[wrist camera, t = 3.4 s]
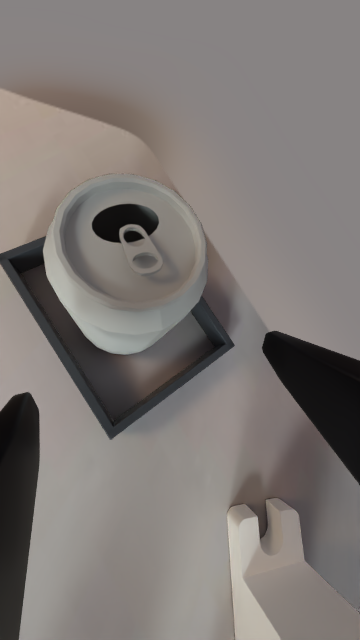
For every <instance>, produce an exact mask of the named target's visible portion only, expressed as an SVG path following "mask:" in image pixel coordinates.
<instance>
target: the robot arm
mask: <svg viewBox="0 0 360 640" xmlns="http://www.w3.org/2000/svg"><path fill="white" fill-rule="evenodd" d="M262 350H263V353H264V355H265V356H266V358H267V359H268V361H269V363H270V364H271V366H272V368H273V369H274V371H275V372H276V374H277V376H278V377H279V379H280V380H281V382H282V383H283V385H284V386H285V387H286V389H287V390H288V391H289V393H290V394H291V395H292V396H293V398H294V399H295V400H296V402H297V403H298V404H299V406H300V407H301V408H302V410H303V411H304V412H305V414H306V415H307V416H308V418H309V419H310V420H311V421H312V423H313V424H314V425H315V427H316V428H317V429H318V431H319V432H320V433H321V435H322V436H323V437H324V439H325V440H326V441H327V443H328V444H329V445H330V446H331V448H332V449H333V450H334V452H335V453H336V454H337V456H338V457H339V458H340V460H341V461H342V462H343V464H344V465H345V466H346V468H347V469H348V470H349V471H350V473H351V474H352V475H353V477H354V478H355V479H356V481H357V482H358V483H359V485H360V361H359V360H356V359H354V358H350V357H348V356H345V355H342V354H339V353H337V352H334V351H331V350H328V349H326V348H323V347H320V346H317V345H314V344H312V343H309V342H306V341H303V340H300V339H298V338H295V337H292V336H289V335H287V334H284V333H281V332H278V331H272V332H268V333H267V334H266V335H265V339H264V343H263V346H262ZM39 457H40V443H39V410H38V407H37V405H36V403H35V401H34V399H33V397H32V395H31V394H30V393H29V392H26V393H22V394H18V395H15V396H13V397H12V398H11V399H10V400H9V402H8V403H7V404H6V405H5V406H4V408H3V409H2V410H1V411H0V640H19V632H20V623H21V615H22V607H23V598H24V590H25V581H26V573H27V564H28V556H29V548H30V539H31V531H32V522H33V514H34V506H35V497H36V489H37V480H38V472H39Z"/></svg>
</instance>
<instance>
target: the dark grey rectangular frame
mask: <svg viewBox="0 0 360 640" xmlns="http://www.w3.org/2000/svg"><path fill="white" fill-rule="evenodd" d="M45 240H46V236H45V237H43V238H40V239H37V240H35V241H32V242H30V243H27V244H25V245H22V246H19V247H17V248H14V249H12V250H9V251H6V252H4V253H1V254H0V264H1V266H2V267H3V269H4V271H5V272H6V274H7V275H8V277H9V279H10V280H11V282H12V283H13V285H14V287H15V288H16V290H17V291H18V293H19V295H20V296H21V298H22V299H23V301H24V303H25V304H26V306H27V307H28V309H29V311H30V312H31V314H32V315H33V317H34V319H35V320H36V322H37V323H38V325H39V327H40V328H41V330H42V331H43V333H44V335H45V336H46V338H47V339H48V341H49V343H50V344H51V346H52V347H53V349H54V351H55V352H56V354H57V355H58V357H59V359H60V360H61V362H62V363H63V365H64V367H65V368H66V370H67V371H68V373H69V375H70V376H71V378H72V379H73V381H74V383H75V384H76V386H77V387H78V389H79V391H80V392H81V394H82V395H83V397H84V399H85V400H86V402H87V403H88V405H89V407H90V408H91V410H92V412H93V413H94V415H95V416H96V418H97V420H98V421H99V423H100V424H101V426H102V428H103V429H104V431H105V432H106V434H107V436H108V437H109V439H110V440H111V439H112V438H114V437H115V436H116V435H118V434H119V433H120V432H122V431H123V430H124V429H126V428H127V427H128V426H130V425H131V424H132V423H133V422H135V421H136V420H137V419H139V418H140V417H141V416H143V415H144V414H145V413H147V412H148V411H149V410H151V409H152V408H153V407H155V406H156V405H157V404H159V403H160V402H161V401H162V400H164V399H165V398H166V397H168V396H169V395H170V394H172V393H173V392H174V391H176V390H177V389H178V388H180V387H181V386H182V385H184V384H185V383H186V382H188V381H189V380H190V379H191V378H193V377H194V376H195V375H197V374H198V373H199V372H201V371H202V370H203V369H205V368H206V367H207V366H209V365H210V364H211V363H213V362H214V361H215V360H217V359H218V358H219V357H220V356H222V355H223V354H224V353H226V352H227V351H228V350H230V349H231V348H232V347H234V346H235V345H234V343H233V342H232V340H231V339H230V338H229V336H228V335H227V333H226V332H225V330H224V329H223V327H222V326H221V324H220V323H219V321H218V320H217V318H216V317H215V315H214V314H213V312H212V311H211V309H210V308H209V306H208V305H207V303H206V302H205V300H204V299H203V297H202V296H201V297H200V300H199V302H198V303H197V304H196V305H195V306H194V307H193V308H192V309H191V312H192V314H193V315H194V317H195V318H196V320H197V321H198V323H199V324H200V326H201V327H202V329H203V330H204V332H205V333H206V335H207V336H208V338H209V339H210V341H211V342H212V344H213V345H214V348H212V349H211V350H210V351H208V352H207V353H206V354H204V355H203V356H201V357H200V358H199V359H197V360H196V361H195V362H193V363H192V364H191V365H189V366H188V367H186V368H185V369H184V370H182V371H181V372H180V373H178V374H177V375H175V376H174V377H173V378H171V379H170V380H169V381H167V382H166V383H165V384H163V385H162V386H160V387H159V388H158V389H156V390H155V391H154V392H152V393H151V394H150V395H148V396H147V397H145V398H144V399H143V400H141V401H140V402H139V403H137V404H136V405H134V406H133V407H132V408H130V409H129V410H128V411H126V412H125V413H124V414H122V415H121V416H119V417H118V418H117V419H115V420H113V419H112V417H111V416H110V414H109V412H108V411H107V409H106V408H105V406H104V405H103V403H102V401H101V400H100V398H99V397H98V395H97V393H96V392H95V390H94V389H93V387H92V385H91V384H90V382H89V381H88V379H87V377H86V376H85V374H84V373H83V371H82V370H81V368H80V366H79V365H78V363H77V362H76V360H75V358H74V357H73V355H72V354H71V352H70V350H69V349H68V347H67V346H66V344H65V342H64V341H63V339H62V338H61V336H60V334H59V333H58V331H57V330H56V328H55V327H54V325H53V323H52V322H51V320H50V319H49V317H48V315H47V314H46V312H45V311H44V309H43V307H42V306H41V304H40V303H39V301H38V299H37V298H36V296H35V295H34V293H33V292H32V290H31V288H30V287H29V285H28V284H27V282H26V280H25V279H24V277H23V276H22V274H21V273H22V272H25V271H27V270H29V269H32V268H34V267H36V266H39V265H41V264H43V263H45V262H44V255H43V248H44V244H45Z"/></svg>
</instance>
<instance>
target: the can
mask: <svg viewBox="0 0 360 640" xmlns="http://www.w3.org/2000/svg"><path fill="white" fill-rule="evenodd" d="M43 255H44V262H45V269H46V276H47V278H48V280H49V282H50V283H51V285H52V287H53V289H54V291H55V292H56V294H57V296H58V298H59V300H60V301H61V303H62V304H63V305H64V307H65V308H66V310H67V311H68V312H69V314H70V315H71V317H72V318H73V320H74V321H75V322H76V324H77V325H78V327H79V328H80V329H81V331H82V332H83V334H84V335H85V336H86V338H87V339H89V340H90V341H91V342H92V343H93V344H94V345H95V346H96V347H98V348H100V349H102V350H105V351H107V352H109V353H112V354H122V355H128V354H133V353H138V352H141V351H143V350H145V349H147V348H148V347H150V346H152V345H153V344H155V343H156V342H157V341H158V340H159V339H160V338H161V337H163V336H164V335H165V334H166V333H167V332H168V331H170V330H171V329H172V328H173V327H174V326H175V325H176V324H178V323H179V322H180V321H181V320H182V319H183V318H184V317H185V316H186V315H187V314H188V313H189V312H190V311H191V309H192V308H193V307H194V306H195V305H196V304H197V303H198V302H199V300H200V297H201V295H202V292H203V290H204V287H205V285H206V282H207V273H208V257H207V242H206V238H205V234H204V231H203V227H202V224H201V222H200V221H199V219H198V217H197V216H196V214H195V213H194V211H193V209H192V208H191V206H190V205H189V204H188V203H187V202H186V201H184V200H183V199H182V198H181V197H180V196H179V195H178V194H177V193H176V192H175V191H173V190H172V189H170V188H168V187H166V186H164V185H163V184H161V183H159V182H157V181H156V180H152V179H149V178H145V177H142V176H138V175H134V174H107V175H103V176H100V177H96V178H92V179H89V180H87V181H85V182H84V183H82V184H81V185H79V186H77V187H76V188H74V189H73V190H71V191H70V192H69V193H68V194H67V196H66V197H65V198H64V200H63V201H62V202H61V204H60V205H59V207H58V208H57V209H56V212H55V216H54V220H53V221H52V223H51V224H50V226H49V228H48V232H47V236H46V240H45V244H44V248H43Z"/></svg>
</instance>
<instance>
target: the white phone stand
mask: <svg viewBox="0 0 360 640" xmlns="http://www.w3.org/2000/svg"><path fill="white" fill-rule="evenodd" d="M266 510H267V520H268V528H267V531H266V534H265V535H264V536H263V537H262V538H260V537H259V526H258V516H257V515H256V514H255V513H254V512H253V511H252V510H251V509H250V508H249V507H247V506H246V505H245V504H241V505H236V506H232V507H231V508H230V509H229V510H228V513H227V522H228V537H229V552H230V567H231V582H232V597H233V612H234V627H235V640H360V613H359V612H358V611H357V610H355V609H354V608H353V607H352V606H351V605H350V604H349V603H348V602H347V601H346V600H345V599H344V598H343V597H342V596H341V595H340V594H339V593H338V592H337V591H336V590H335V589H334V588H333V587H332V586H331V585H330V584H328V583H327V582H326V581H325V580H324V579H323V578H322V577H321V576H320V575H319V574H318V573H317V572H316V571H315V570H314V569H313V568H312V567H311V566H310V565H309V564H308V563H307V562H306V561H305V560H304V553H303V545H302V537H301V529H300V521H299V515H298V513H297V512H296V511H295V510H294V509H293V508H291V507H290V506H289V505H287V504H286V503H285V502H283V501H282V500H280V499H279V498H272V499H267V500H266Z"/></svg>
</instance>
